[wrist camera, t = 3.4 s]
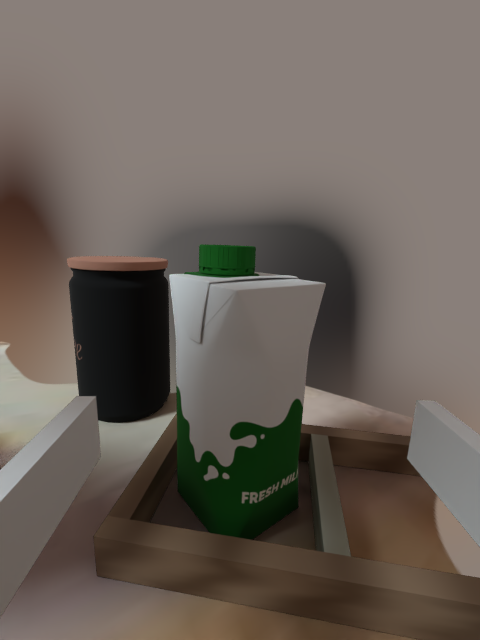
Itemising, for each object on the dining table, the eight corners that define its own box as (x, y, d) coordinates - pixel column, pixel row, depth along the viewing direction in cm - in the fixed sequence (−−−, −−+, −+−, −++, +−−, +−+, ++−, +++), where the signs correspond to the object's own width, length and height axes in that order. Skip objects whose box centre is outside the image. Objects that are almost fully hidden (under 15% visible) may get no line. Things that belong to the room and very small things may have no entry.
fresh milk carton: (244, 451, 32) (253, 245, 27) (316, 511, 25) (345, 250, 20) (161, 490, 27) (155, 243, 22) (225, 579, 20) (236, 247, 15)
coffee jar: (109, 381, 46) (101, 255, 42) (181, 388, 45) (179, 258, 41) (60, 420, 36) (42, 258, 32) (150, 430, 35) (144, 263, 31)
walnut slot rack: (96, 576, 20) (93, 536, 19) (178, 435, 34) (178, 410, 33) (635, 681, 16) (655, 636, 15) (469, 472, 30) (476, 444, 29)
